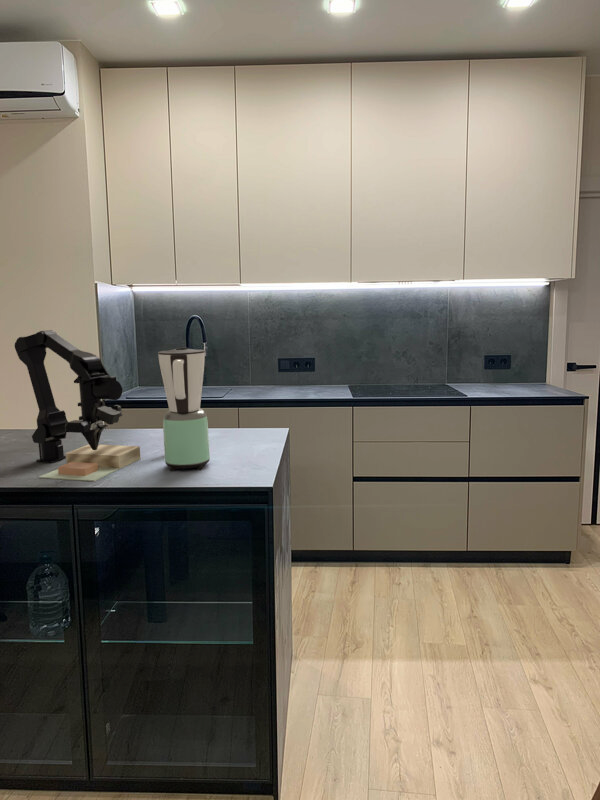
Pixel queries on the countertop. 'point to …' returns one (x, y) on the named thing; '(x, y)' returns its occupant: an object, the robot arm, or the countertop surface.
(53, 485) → the countertop surface
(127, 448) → the tan wooden flat block
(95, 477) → the mat
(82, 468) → the tile
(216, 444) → the countertop surface
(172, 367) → the mint green blender
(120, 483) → the countertop surface
